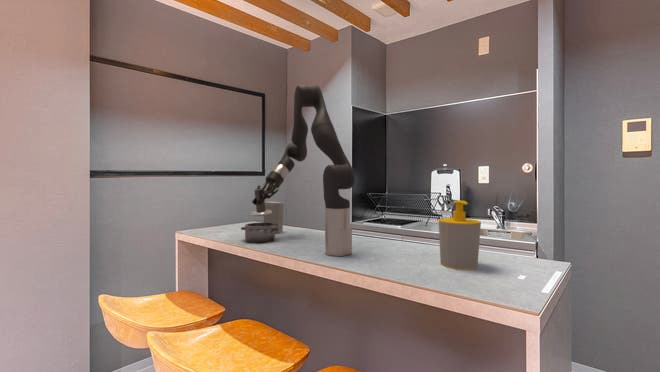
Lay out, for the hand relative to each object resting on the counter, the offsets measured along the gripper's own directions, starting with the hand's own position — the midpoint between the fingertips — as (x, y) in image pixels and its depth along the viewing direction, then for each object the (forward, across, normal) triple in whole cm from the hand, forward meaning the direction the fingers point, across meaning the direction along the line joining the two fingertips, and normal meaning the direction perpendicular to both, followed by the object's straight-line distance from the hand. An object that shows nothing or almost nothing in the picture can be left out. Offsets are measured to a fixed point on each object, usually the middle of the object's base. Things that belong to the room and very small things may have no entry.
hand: (256, 203), depth 152 cm
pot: (+11, 0, +13) cm, 17 cm away
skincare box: (-1, -12, +26) cm, 28 cm away
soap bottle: (-4, +82, +27) cm, 87 cm away
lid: (+1, 0, +5) cm, 6 cm away
